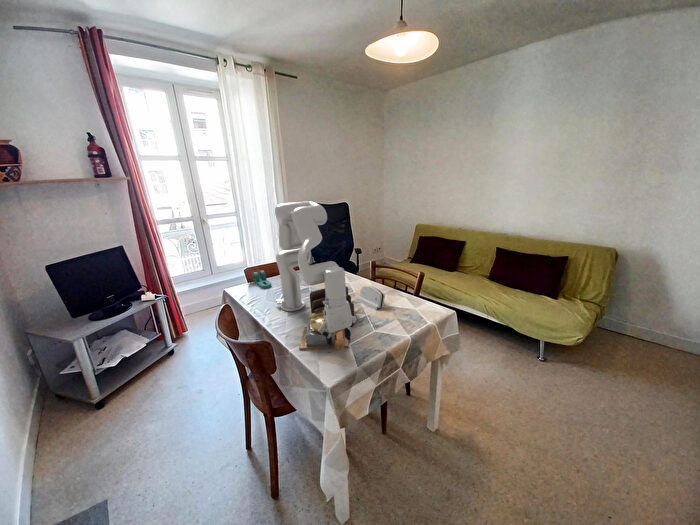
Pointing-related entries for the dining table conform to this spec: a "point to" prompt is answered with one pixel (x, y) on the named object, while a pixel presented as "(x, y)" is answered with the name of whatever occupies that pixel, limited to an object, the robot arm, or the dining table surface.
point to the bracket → (261, 280)
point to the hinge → (371, 297)
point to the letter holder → (319, 297)
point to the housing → (318, 340)
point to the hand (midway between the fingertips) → (338, 341)
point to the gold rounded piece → (318, 320)
